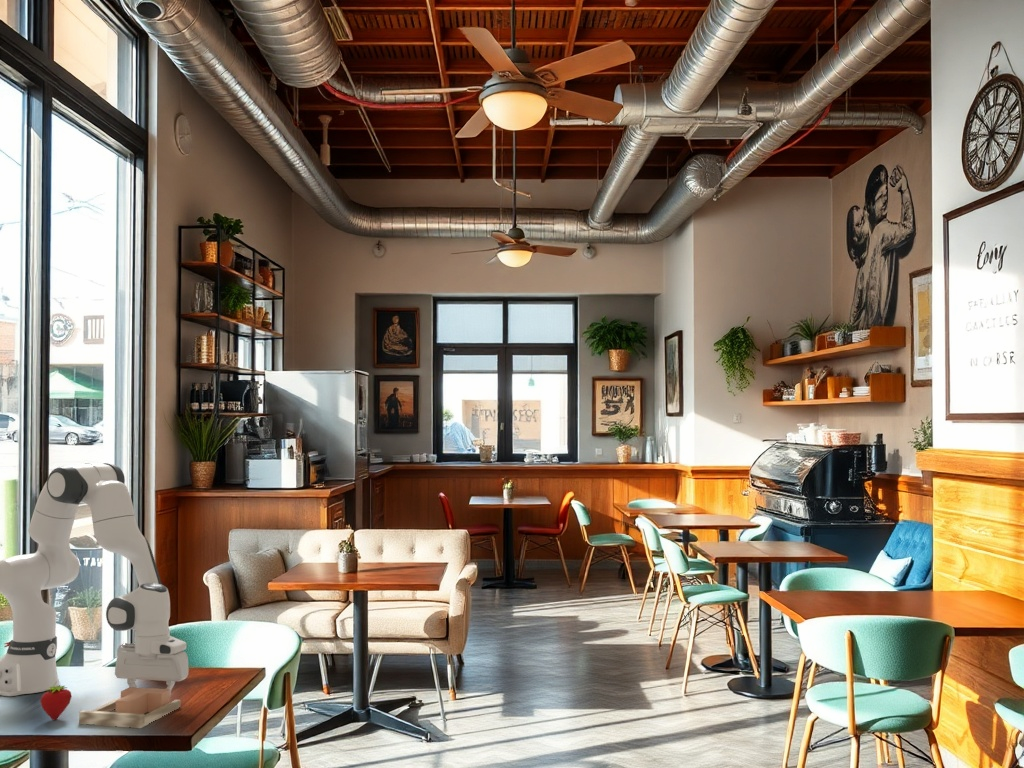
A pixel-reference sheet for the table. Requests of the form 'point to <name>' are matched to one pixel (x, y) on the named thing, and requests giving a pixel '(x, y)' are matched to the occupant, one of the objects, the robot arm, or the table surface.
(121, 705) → the T block
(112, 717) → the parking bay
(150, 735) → the table surface
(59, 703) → the strawberry
